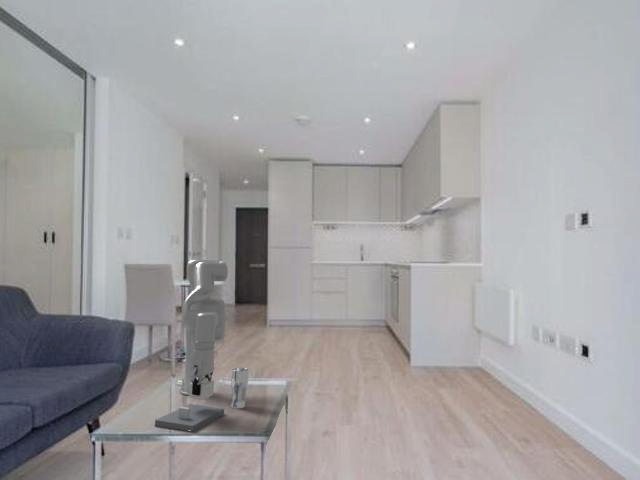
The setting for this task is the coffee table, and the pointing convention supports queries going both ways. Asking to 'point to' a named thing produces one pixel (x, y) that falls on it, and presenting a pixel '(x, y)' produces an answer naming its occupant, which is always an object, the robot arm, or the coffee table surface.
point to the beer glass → (239, 387)
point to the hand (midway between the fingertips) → (201, 392)
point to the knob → (203, 389)
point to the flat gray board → (189, 417)
